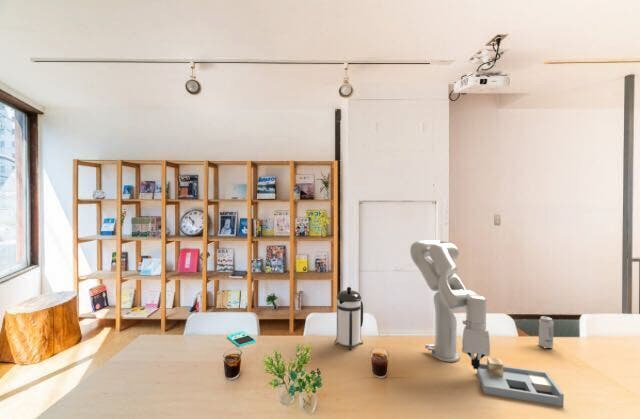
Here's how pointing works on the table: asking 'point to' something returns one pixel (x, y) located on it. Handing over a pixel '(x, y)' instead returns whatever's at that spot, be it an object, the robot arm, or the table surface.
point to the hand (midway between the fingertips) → (475, 367)
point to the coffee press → (349, 318)
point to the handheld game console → (241, 338)
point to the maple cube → (495, 367)
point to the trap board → (521, 385)
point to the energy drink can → (546, 332)
